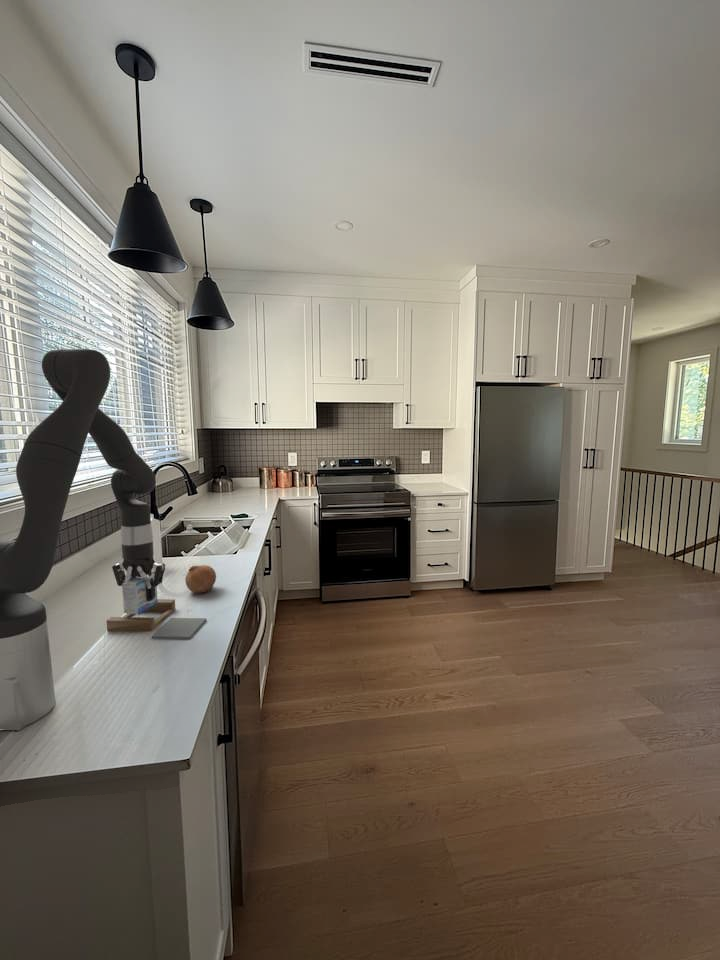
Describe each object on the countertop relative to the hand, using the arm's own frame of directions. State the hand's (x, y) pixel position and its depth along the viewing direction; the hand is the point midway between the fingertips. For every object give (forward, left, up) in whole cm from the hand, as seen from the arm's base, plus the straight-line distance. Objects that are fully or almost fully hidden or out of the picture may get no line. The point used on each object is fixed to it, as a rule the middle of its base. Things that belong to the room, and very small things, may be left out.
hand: (140, 599), depth 110 cm
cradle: (0, 0, -6) cm, 6 cm away
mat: (-5, -13, -6) cm, 15 cm away
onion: (+20, -8, -6) cm, 23 cm away
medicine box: (0, 0, -3) cm, 3 cm away
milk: (+39, +20, -6) cm, 45 cm away
